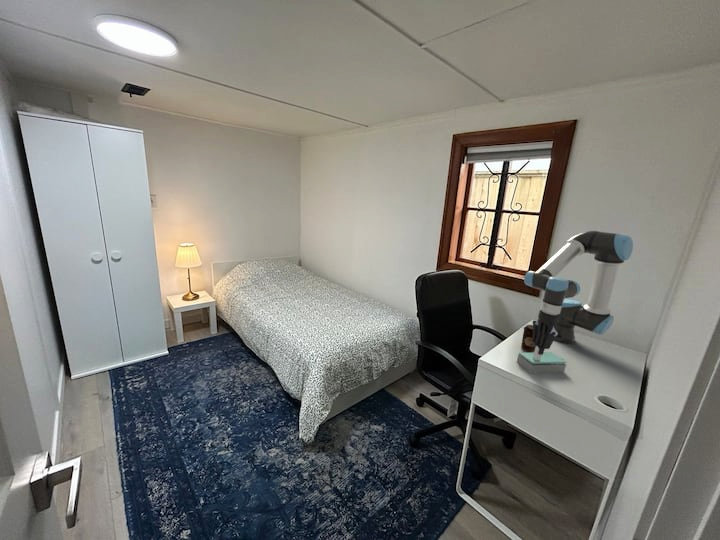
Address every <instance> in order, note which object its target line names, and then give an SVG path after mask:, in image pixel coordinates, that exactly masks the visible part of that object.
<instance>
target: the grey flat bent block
mask: <svg viewBox="0 0 720 540" xmlns="http://www.w3.org/2000/svg"><path fill="white" fill-rule="evenodd" d="M516 362H517V364H519V365H520V366H521V367H522V368H524V369H525V370H526V371H527V372H528V373H530V374H549V373H564V372H565V371H566V367H567V363H551V364H532V363H531V362H529V361H528V360H527V359H525V358H524V357H522V356H521V355H519V354H518V355H517V360H516Z"/></svg>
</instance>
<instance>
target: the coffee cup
mask: <svg viewBox="0 0 720 540" xmlns="http://www.w3.org/2000/svg"><path fill="white" fill-rule="evenodd" d="M522 334H523V335H522V338H521V339H522V340H521V343H520V344H521V347H520V348H521V349H522V350H523V351H525V352H527V353H534V348H535V343H534V342H533V341H532V337H533V324H526V325H525V326H524V327H523V333H522Z"/></svg>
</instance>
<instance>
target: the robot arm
mask: <svg viewBox="0 0 720 540" xmlns="http://www.w3.org/2000/svg"><path fill="white" fill-rule="evenodd" d="M633 249H634V242H633V239H632V238H631V236H630V235H625V234H620V233H615V232H605V231H597V230H587V231H583V232H580V233H578V234H575V235H574V236H571V237H570V238H569V239H567V240H566V241H565V242H564V244H563V247H562V248H561V249H559V250H558V251H557V252H556V253H555V254H554V255H553V256H552V257H551V258H550V259H549V260H548V261H547V262H545V263H544V264H543V265H542V266H541V267H540V268H539V269H538V270H536V271H532V270H529V271H528V272H526V273H525V275H524V277H523V281H524V284H525V285H526V286H529V287H531V288H533V289H537V290H540V291H543V292H544V295H543V297H542V301H541V305H540V309H539V312H538V314H537V315H538V316H537V317H538V319H537V320H532V325H533V337H532V341H533V342H534V343H535V348H534V352H533V353H534V355H533V359H534V360H540V359H541V355H543V352H544V351H545V350H549V349H550V348H551V346H552V344H553V343H554V341H556V342H560V343H565V344H573V343H574V342H575V340H576V336H575V327H578V328H580V329H583V330H585V331H588V332H591V333H594V334H596V335H604V334H605V333H607V332H608V330H609V329H610V328H611V326H612V324H613V323H614V320H615V316H614V315H611V313H612V312H611V309H610V308H609V305H610V304H609V303H610V301H611V297H612V293H613V289H614V284H615V281H616V277H617V274H618V270H619V266H620V265H622V264H624V262H625V261H627V260H629V259H630V258H631V256H632V253H633ZM583 254H591V255H594V258H593V259H594V261H595V262H596V265H595V269H594V273H593V279H592V283H591V287H590V292H589V296H588V300H587V303H585V304H583V305H582V302H580V301H578V300H574V299H570V298H574V297H576V296H577V295H579V294H580V292H581V285H580V284H579V283H578V282H577V281H575V280H570V279H565V278H563V277H557V276H558V274H560V273H561V272H562V271H563V270H564V269H565V268H566V267H567V266H569V264H571V263H572V262H573V260H574V259H576V258H577V257H580V256H582V255H583ZM568 298H569V299H568Z"/></svg>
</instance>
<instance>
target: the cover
mask: <svg viewBox="0 0 720 540" xmlns="http://www.w3.org/2000/svg"><path fill="white" fill-rule="evenodd" d="M518 355H521V356H522V357H524V358H525V359H527V360H528V361H529V362H531V363H532V364H544V363H551V364H553V363H565V364H567V361H566V360H565V359H563V358H561V356H560V357H559V356H558V355H557V354H555V353H553V352H550V351H549V352H548V351H547V352H543V355H541V359H540V360H534V359H533V355H534V352H519V353H518Z"/></svg>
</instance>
